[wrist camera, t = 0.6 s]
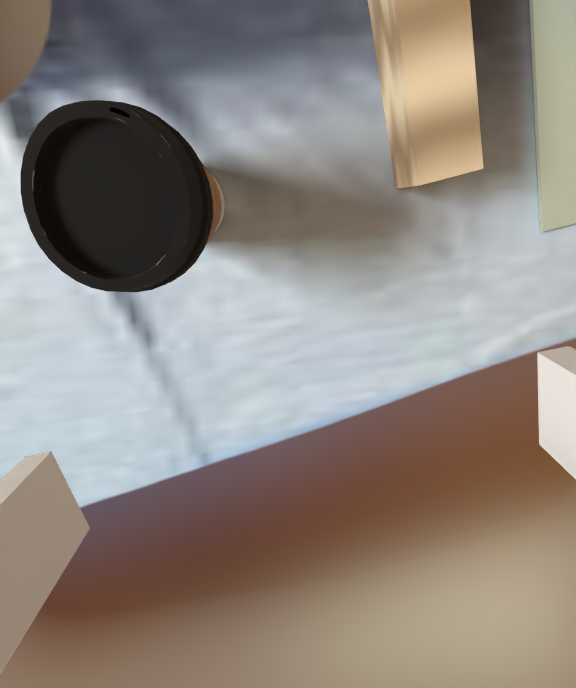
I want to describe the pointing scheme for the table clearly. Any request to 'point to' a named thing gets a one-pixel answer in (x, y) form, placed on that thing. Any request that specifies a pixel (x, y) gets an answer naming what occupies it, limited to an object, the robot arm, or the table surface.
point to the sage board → (555, 109)
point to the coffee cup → (117, 196)
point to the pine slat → (428, 88)
